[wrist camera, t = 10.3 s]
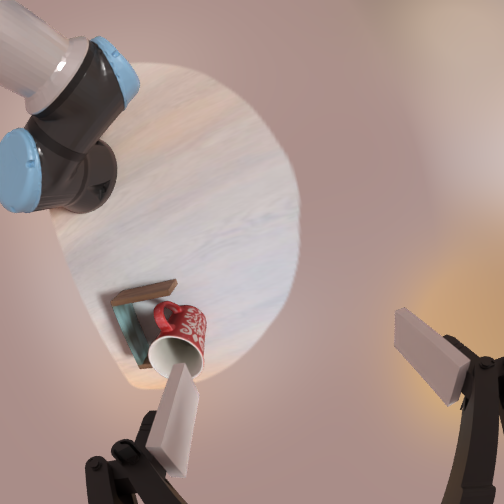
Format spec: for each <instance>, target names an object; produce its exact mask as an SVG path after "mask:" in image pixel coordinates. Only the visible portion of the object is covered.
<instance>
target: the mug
mask: <svg viewBox="0 0 504 504" xmlns="http://www.w3.org/2000/svg"><path fill="white" fill-rule="evenodd" d="M164 307H165V308H168V309H170V310H171V311H172V314H171V316H170V317H169V319H168V320H166V318H165V316H164ZM154 319H155V322H156V324H157V325H158V327H159V328H160V329H161V332H160V333H159V335H158V336H157V338H156V340H155V341H154V342H153V343H152V344H151V345H150V347H149V351H148V358H149V361H150V364H151V365H152V367H153V368H154V369H155V370H156V371H157V372H158V373H159V374H160V375H162V376H163V377H165V378H169V375H170V372H171V370H172V367H173V364H179V363H185V364H186V366H187V368H188V371H189V373H190V375H191V377H192V379H194V378H196V377H197V376H198V375H199V374H200V373H201V372H202V370H203V367H204V358H203V355H204V343H205V333H206V318H205V316H204V314H203V313H202V312H201V311H200V310H199V309H197V308H196V307H193V306H189V305H184V306H179V305H177V304H175V303H173V302H170V301H164V302H161V303H159V304H157V305H156V307H155V308H154Z"/></svg>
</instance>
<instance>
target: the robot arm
mask: <svg viewBox="0 0 504 504" xmlns="http://www.w3.org/2000/svg"><path fill="white" fill-rule="evenodd" d="M0 86H2V87H4V88H6V89H8V90H10V91H12V92H14V93H16V94H19V95H21V96H23V97H24V98H25V105H26V110H27V112H28V113H29V114H31V115H32V116H31V117H30V119H29V121H28V122H27V124H26V125H25V127H24V128H17V129H14V130H12V131H11V132H9V133H7V134H6V135H5V136H4V138H3V139H2V141H1V142H0V203H1V204H2V205H3V207H4V208H6V209H7V210H8V211H10V212H14V213H20V212H24V213H30V212H34V211H39V210H45V209H51V208H56V207H64V208H66V209H68V210H70V211H72V212H76V213H86V212H91V211H94V210H96V209H98V208H99V207H101V206H102V205H103V204H104V203H105V202H106V201H107V199H108V198H109V197H110V195H111V193H112V191H113V189H114V186H115V183H116V178H117V162H116V158H115V155H114V153H113V151H112V149H111V148H110V146H109V145H108V144H107V143H106V142H104V141H103V140H100V139H99V138H100V137H101V136H102V135H103V133H104V132H105V131H106V130H107V128H108V127H109V126H110V125H111V124H112V122H113V121H114V120H115V119H116V118H117V117H118V115H119V114H120V113H121V112H122V111H124V110H125V109H126V107H127V105H128V103H129V102H130V101H131V100H132V99H133V98H134V96H135V95H136V94H137V93H138V91H139V88H140V81H139V78H138V76H137V74H136V72H135V71H134V69H133V68H132V66H131V65H130V64H129V62H128V61H127V60H126V59H125V58H124V56H123V55H122V54H120V53H119V52H118V50H117V49H116V48H115V47H114V46H113V45H112V44H111V43H110V42H109V41H107V40H106V39H105V38H103V37H101V36H98V37H95V38H94V39H91V40H90V41H89V40H88V39H87V38H86V37H84V36H78V37H74V38H70V39H67V38H66V37H64V36H63V35H62V34H61V33H59V32H58V31H57V30H55V29H54V28H53V27H51V26H50V25H49V24H47V23H46V22H45V21H43V20H42V19H41V18H39V17H38V16H36V15H35V14H34V13H32V12H31V11H29V10H28V9H27V8H25V7H24V6H23V5H21V4H20V3H18V2H17V1H15V0H0ZM394 341H395V342H394V347H395V348H396V349H397V350H398V351H399V352H400V353H401V354H402V355H403V356H404V358H405V359H406V360H407V361H408V362H409V363H410V364H411V365H412V366H413V367H414V369H415V370H416V371H417V372H418V373H419V374H420V375H421V376H422V378H423V379H424V380H425V381H426V382H427V383H428V384H429V386H430V387H431V388H432V389H433V390H434V391H435V392H436V394H437V395H438V396H439V397H440V398H441V399H442V401H443V402H444V403H445V404H446V405H447V407H448V406H450V405H452V404H453V403H455V402H456V401H458V400H459V397H460V394H461V392H462V393H463V394H464V395H465V397H464V400H463V403H462V405H461V408H460V410H462V418H461V425H460V432H459V437H458V443H457V448H456V453H455V457H454V462H453V466H452V470H451V473H450V477H449V481H448V484H447V487H446V491H445V494H444V497H443V500H442V503H441V504H493V502H494V498H495V492H496V488H495V486H493V485H492V482H493V476H494V470H495V462H496V455H497V445H498V431H499V416H500V419H501V423H502V428H503V433H504V357H501V358H498V359H496V360H494V359H493V358H491V357H487V356H484V357H478V356H477V355H476V354H475V353H474V352H472V351H471V350H470V349H469V348H467V347H466V346H464V345H463V344H462V343H460V341H458V340H457V339H456V338H455V337H452V336H449V335H445V336H443V337H442V336H441V335H440V334H438V333H437V332H436V331H434V330H433V329H432V328H431V327H429V326H428V325H427V324H426V323H424V322H423V321H422V320H421V319H419V318H418V317H417V316H416V315H414V314H413V313H412V312H410V311H409V310H408V309H407V308H405V307H404V308H401V309H399V310H396V311H395V340H394ZM198 401H199V393H198V391H197V388H196V386H195V384H194V382H193V380H192V377H191V375H190V373H189V371H188V368H187V366H186V364H185V363H179V364H173V367H172V370H171V372H170V375H169V378H168V381H167V384H166V387H165V389H164V392H163V395H162V398H161V401H160V404H159V407H158V410H157V411H149V412H148V413H147V414H146V415H145V417H144V418H143V421H142V423H141V426H140V429H139V432H138V434H137V437H136V440H135V442H133V441H132V440H129V439H123V440H120V441H118V442H116V443H115V444H114V445H113V446H112V449H111V453H112V456H113V457H114V458H115V459H116V460H114V461H106V460H105V459H104V458H103V457H101V456H94V457H92V458H90V459H89V460H88V461H87V462H86V465H85V473H86V486H87V496H88V503H89V504H138V502H137V499H136V495H135V493H138V495H139V496H140V497H141V499H142V501H143V502H144V504H187V503H186V501H185V500H184V499H183V498H182V497H181V496H180V495H179V494H178V492H177V491H176V490H175V489H174V488H173V487H172V485H171V484H170V483H169V481H168V480H167V479H166V478H165V476H166V472H167V473H168V474H169V475H170V476H171V477H186V473H187V466H188V460H189V454H190V448H191V442H192V436H193V430H194V424H195V418H196V413H197V407H198ZM462 408H463V409H462Z"/></svg>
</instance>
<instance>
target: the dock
mask: <svg viewBox="0 0 504 504" xmlns="http://www.w3.org/2000/svg"><path fill="white" fill-rule="evenodd" d="M177 284H178V283H177V280H176V279H173V280H169V281H164V282H160V283H155V284H151V285H146V286H142V287H137V288H133V289H128V290H123V291H122V292H121V293H119V294H118V295H117V296H116V297H115V298H114V299H113V300H112V301H111V305H112V308H113V310H114V313H115V315H116V318H117V320H118V323H119V325H120V327H121V330H122V332H123V334H124V337H125V339H126V341H127V343H128V345H129V348H130V350H131V352H132V354H133V356H134V358H135V360H136V362H137V364H138V366H139V368H140V369H146V368H153V367H152V365H151V364H150V361H149V358H148V351H149V345H148V343H147V341H146V338H145V336H144V334H143V331H142V329H141V326H140V324H139V321H138V319H137V316H136V314H135V311H134V309H133V306H132V303H134V302H139V301H144V300H149V299H154V298H159V297H164V296H169V295H170V294H171V293H172V291H173V290H174V288H175V287H176V285H177Z"/></svg>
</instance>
